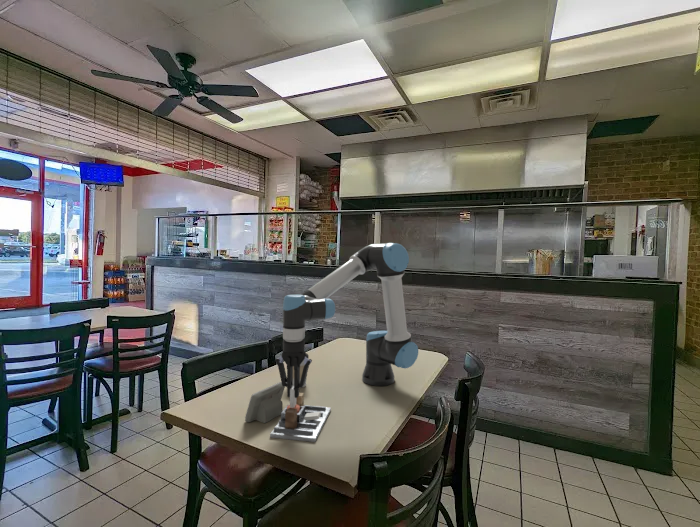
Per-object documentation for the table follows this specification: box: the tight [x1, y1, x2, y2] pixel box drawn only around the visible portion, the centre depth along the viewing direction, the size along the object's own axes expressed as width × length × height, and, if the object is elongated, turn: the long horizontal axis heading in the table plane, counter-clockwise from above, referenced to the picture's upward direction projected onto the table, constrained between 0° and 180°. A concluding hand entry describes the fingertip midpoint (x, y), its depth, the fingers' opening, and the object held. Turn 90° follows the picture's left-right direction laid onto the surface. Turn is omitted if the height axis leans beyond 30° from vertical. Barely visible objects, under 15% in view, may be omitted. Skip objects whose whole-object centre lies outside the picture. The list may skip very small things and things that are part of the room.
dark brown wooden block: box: [285, 408, 297, 429], centre depth 113 cm, size 3×3×6 cm
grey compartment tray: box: [269, 404, 332, 443], centre depth 119 cm, size 15×22×4 cm
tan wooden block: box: [296, 392, 305, 406], centre depth 126 cm, size 3×3×6 cm
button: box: [286, 404, 300, 413], centre depth 120 cm, size 4×4×3 cm
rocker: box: [304, 412, 321, 420], centre depth 119 cm, size 5×3×1 cm, turn 80°
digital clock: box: [244, 381, 286, 424], centre depth 124 cm, size 16×9×11 cm, turn 137°
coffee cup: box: [292, 351, 310, 388], centre depth 154 cm, size 9×9×15 cm
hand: (293, 406), depth 120 cm, fingers closed
